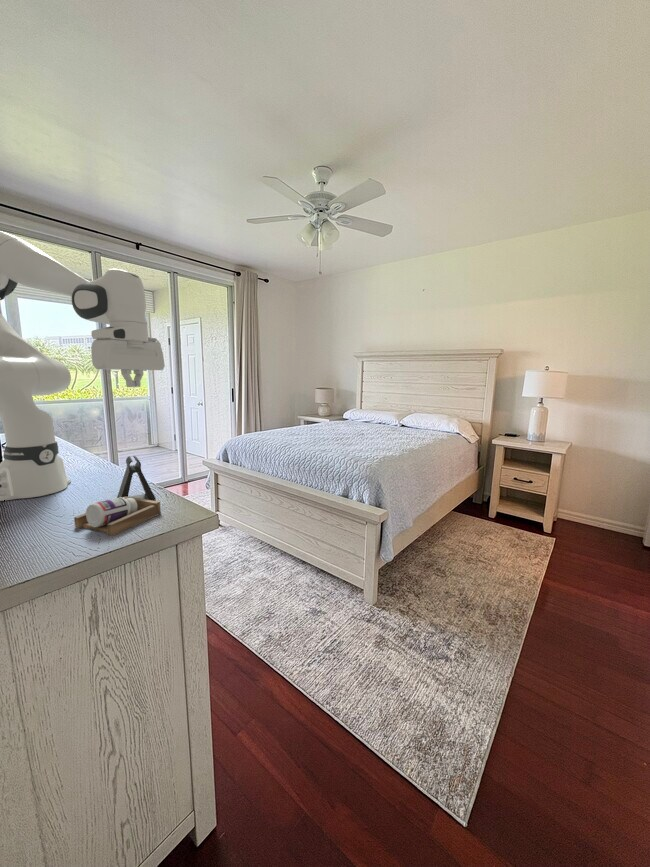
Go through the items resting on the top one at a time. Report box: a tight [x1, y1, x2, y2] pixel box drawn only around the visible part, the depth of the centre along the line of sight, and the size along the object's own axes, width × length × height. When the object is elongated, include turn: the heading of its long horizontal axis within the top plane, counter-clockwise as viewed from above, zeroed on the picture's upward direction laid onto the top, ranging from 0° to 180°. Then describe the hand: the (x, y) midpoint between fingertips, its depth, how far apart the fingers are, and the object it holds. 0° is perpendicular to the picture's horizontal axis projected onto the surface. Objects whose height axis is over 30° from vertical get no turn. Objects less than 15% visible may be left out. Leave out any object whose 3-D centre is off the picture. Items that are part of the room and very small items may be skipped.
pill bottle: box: [85, 497, 137, 527], centre depth 83 cm, size 5×5×10 cm
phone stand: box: [116, 455, 157, 501], centre depth 98 cm, size 9×6×12 cm, turn 124°
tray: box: [73, 495, 162, 537], centre depth 85 cm, size 11×14×3 cm
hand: (133, 387), depth 97 cm, fingers closed
